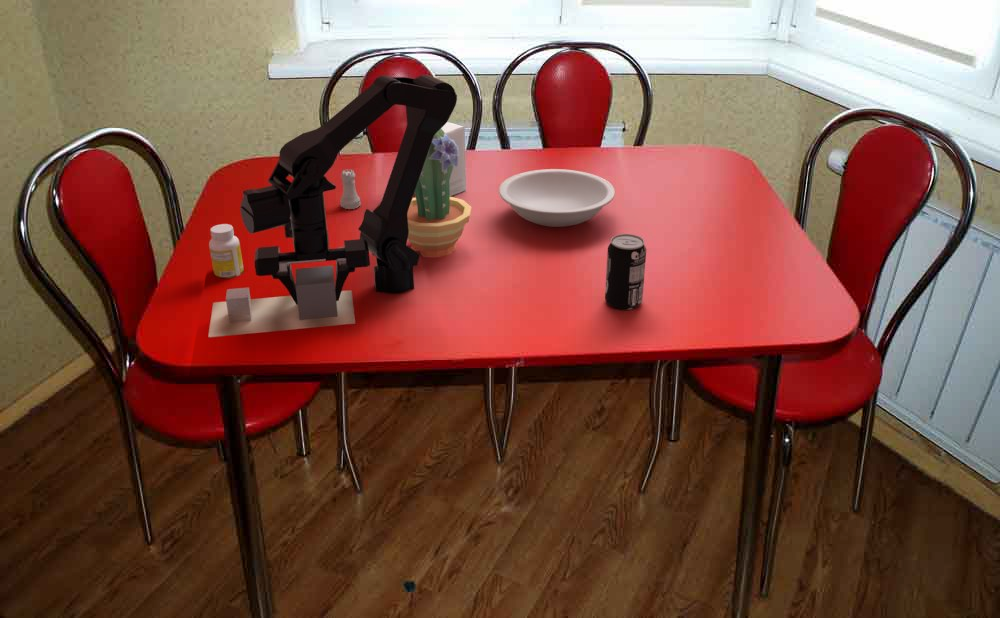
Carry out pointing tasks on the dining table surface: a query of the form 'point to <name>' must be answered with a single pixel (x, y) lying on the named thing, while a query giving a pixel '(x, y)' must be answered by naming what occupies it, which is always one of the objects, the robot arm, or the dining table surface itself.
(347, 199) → the rook chess piece
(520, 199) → the soup bowl
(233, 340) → the dining table surface
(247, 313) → the brushed metal cube
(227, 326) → the board
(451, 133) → the supplement box
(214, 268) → the supplement bottle
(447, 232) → the potted cactus
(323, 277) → the gray matte cube
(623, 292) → the beverage can
